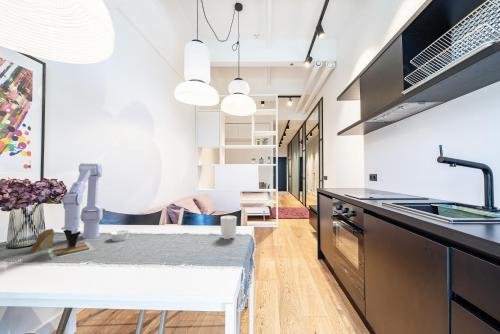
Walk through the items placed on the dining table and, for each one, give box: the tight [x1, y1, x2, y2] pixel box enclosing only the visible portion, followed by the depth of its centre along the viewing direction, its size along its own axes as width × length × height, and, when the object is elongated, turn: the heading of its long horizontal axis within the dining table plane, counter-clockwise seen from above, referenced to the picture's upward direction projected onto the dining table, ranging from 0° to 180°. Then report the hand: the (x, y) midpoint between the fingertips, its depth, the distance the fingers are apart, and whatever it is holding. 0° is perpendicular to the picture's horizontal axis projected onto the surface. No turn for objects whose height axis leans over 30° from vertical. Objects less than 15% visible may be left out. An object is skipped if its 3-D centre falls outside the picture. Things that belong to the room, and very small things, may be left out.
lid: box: [53, 240, 89, 256], centre depth 106 cm, size 12×12×5 cm
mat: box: [47, 241, 95, 260], centre depth 106 cm, size 16×16×1 cm
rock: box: [29, 228, 55, 254], centre depth 106 cm, size 11×9×10 cm
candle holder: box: [220, 215, 238, 240], centre depth 129 cm, size 10×10×12 cm
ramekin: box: [110, 229, 130, 242], centre depth 123 cm, size 9×9×4 cm
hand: (71, 245), depth 106 cm, fingers open, 5 cm apart
